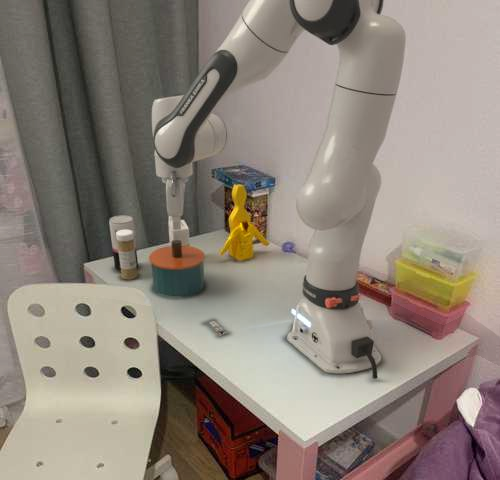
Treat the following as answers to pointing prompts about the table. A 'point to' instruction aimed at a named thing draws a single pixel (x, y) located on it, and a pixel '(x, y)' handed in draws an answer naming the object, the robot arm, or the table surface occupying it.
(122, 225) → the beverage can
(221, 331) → the granola bar
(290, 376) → the table surface
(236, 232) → the figure statuette
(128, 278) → the sprinkles bottle
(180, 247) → the lid
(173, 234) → the ink cartridge box
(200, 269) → the tin
